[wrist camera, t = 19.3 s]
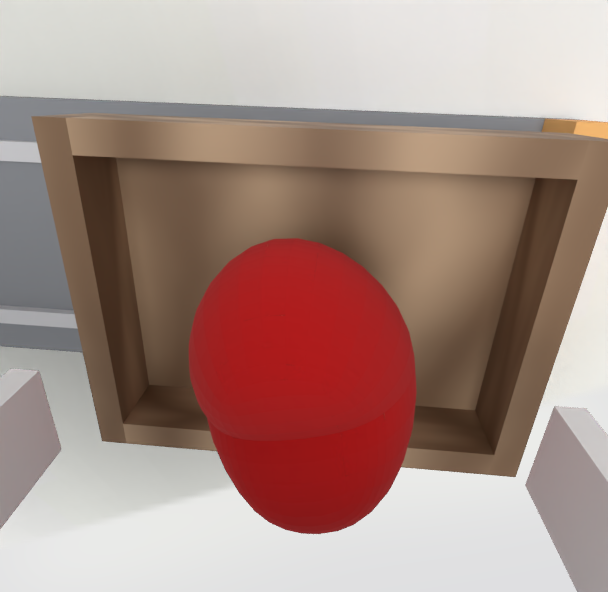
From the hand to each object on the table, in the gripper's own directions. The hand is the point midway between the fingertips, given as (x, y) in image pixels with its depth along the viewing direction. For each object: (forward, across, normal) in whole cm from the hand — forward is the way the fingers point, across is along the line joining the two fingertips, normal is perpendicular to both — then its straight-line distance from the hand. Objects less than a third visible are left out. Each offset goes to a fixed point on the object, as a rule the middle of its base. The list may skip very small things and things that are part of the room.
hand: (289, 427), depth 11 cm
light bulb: (+9, 0, 0) cm, 9 cm away
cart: (+13, 0, 0) cm, 13 cm away
